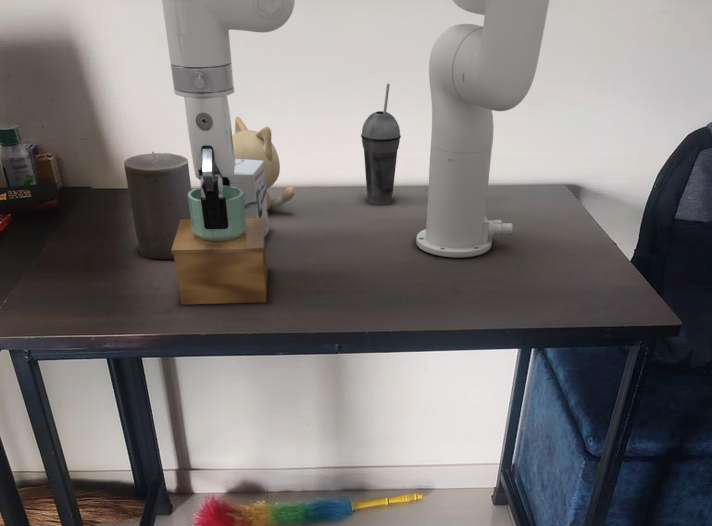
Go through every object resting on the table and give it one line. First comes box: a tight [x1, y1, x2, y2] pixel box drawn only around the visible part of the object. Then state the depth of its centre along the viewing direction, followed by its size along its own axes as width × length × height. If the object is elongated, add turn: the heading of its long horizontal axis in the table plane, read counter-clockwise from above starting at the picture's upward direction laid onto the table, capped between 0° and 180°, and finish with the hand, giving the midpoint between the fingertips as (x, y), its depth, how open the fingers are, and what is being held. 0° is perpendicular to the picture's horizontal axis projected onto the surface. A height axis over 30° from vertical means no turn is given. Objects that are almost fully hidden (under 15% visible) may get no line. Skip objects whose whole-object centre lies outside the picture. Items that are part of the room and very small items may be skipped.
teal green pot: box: [188, 185, 246, 241], centre depth 107 cm, size 8×8×6 cm
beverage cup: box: [360, 83, 402, 206], centre depth 140 cm, size 7×7×20 cm
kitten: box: [232, 116, 296, 211], centre depth 137 cm, size 15×10×15 cm
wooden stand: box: [171, 218, 268, 306], centre depth 111 cm, size 12×12×8 cm
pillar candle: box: [123, 151, 192, 260], centre depth 121 cm, size 10×10×15 cm
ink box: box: [230, 159, 270, 237], centre depth 126 cm, size 9×5×12 cm, turn 174°
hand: (218, 216), depth 107 cm, fingers open, 9 cm apart
